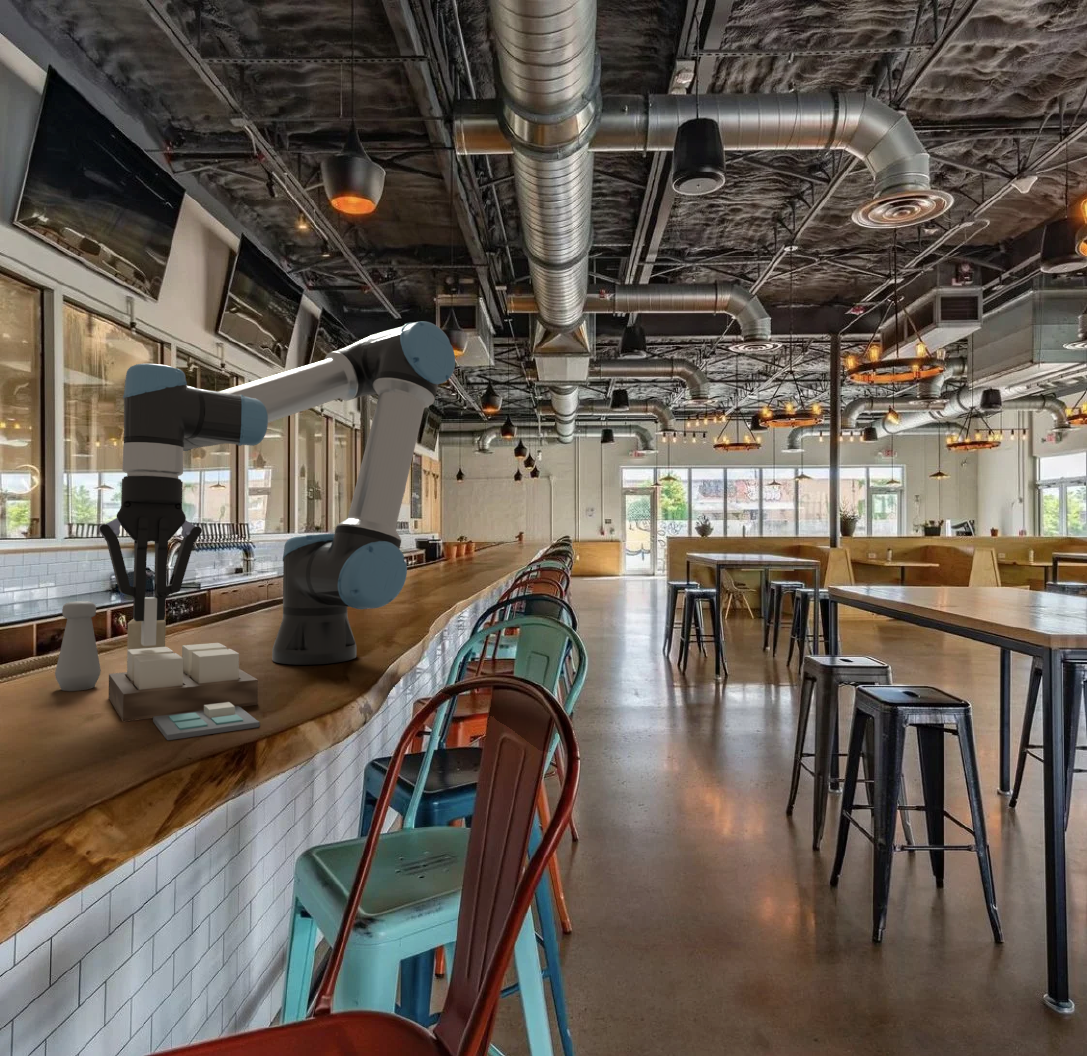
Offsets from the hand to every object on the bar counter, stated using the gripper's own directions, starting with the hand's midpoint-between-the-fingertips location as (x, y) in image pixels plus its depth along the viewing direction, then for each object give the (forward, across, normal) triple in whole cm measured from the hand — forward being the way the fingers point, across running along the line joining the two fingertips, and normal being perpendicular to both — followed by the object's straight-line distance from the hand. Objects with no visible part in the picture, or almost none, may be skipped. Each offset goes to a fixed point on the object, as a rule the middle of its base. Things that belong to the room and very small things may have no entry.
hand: (148, 644), depth 100 cm
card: (+8, -4, +18) cm, 20 cm away
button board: (+8, -4, +3) cm, 9 cm away
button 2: (+5, 0, +7) cm, 8 cm away
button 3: (+5, -7, +7) cm, 11 cm away
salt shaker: (+8, +7, -15) cm, 18 cm away
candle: (+8, -3, -22) cm, 23 cm away
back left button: (+5, -7, 0) cm, 9 cm away
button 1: (+5, 0, 0) cm, 5 cm away
